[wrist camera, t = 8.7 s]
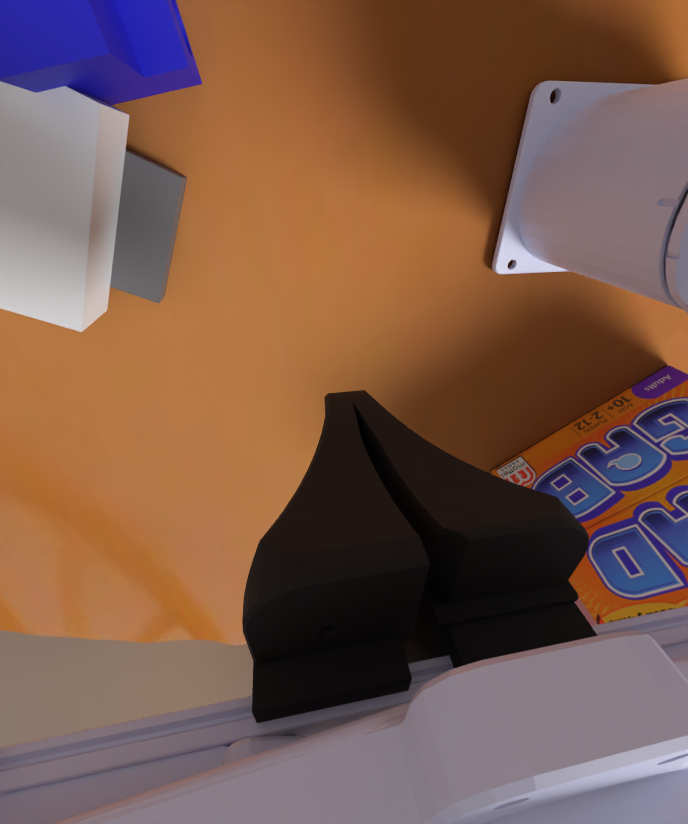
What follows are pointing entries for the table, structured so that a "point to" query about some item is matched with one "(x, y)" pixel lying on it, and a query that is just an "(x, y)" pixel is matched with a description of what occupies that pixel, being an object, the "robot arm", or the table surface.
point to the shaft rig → (78, 208)
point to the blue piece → (96, 47)
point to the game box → (623, 495)
